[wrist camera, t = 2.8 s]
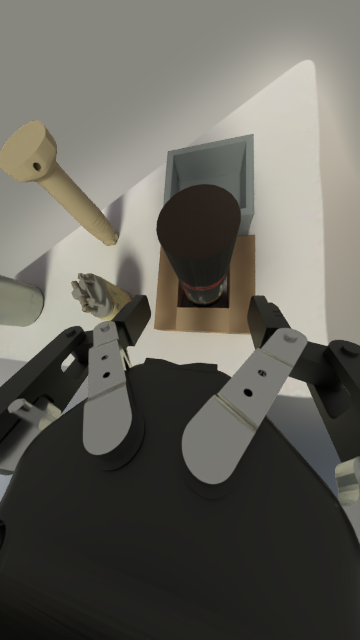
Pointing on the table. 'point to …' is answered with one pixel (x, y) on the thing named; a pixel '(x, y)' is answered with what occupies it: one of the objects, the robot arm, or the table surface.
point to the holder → (209, 319)
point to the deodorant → (200, 239)
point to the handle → (52, 177)
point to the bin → (216, 172)
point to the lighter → (99, 296)
